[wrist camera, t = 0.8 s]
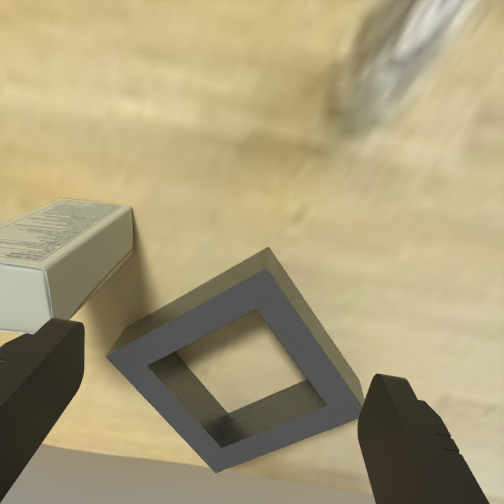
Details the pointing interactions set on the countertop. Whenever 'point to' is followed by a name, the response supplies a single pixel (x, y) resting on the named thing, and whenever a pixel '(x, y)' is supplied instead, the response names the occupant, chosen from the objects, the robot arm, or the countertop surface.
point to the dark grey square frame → (260, 412)
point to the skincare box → (59, 260)
